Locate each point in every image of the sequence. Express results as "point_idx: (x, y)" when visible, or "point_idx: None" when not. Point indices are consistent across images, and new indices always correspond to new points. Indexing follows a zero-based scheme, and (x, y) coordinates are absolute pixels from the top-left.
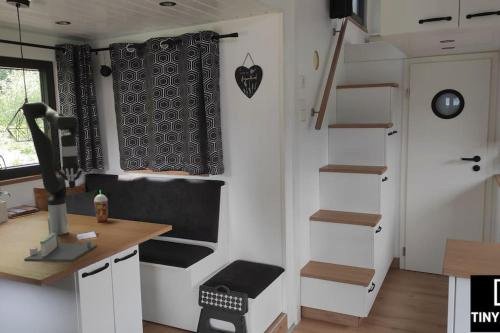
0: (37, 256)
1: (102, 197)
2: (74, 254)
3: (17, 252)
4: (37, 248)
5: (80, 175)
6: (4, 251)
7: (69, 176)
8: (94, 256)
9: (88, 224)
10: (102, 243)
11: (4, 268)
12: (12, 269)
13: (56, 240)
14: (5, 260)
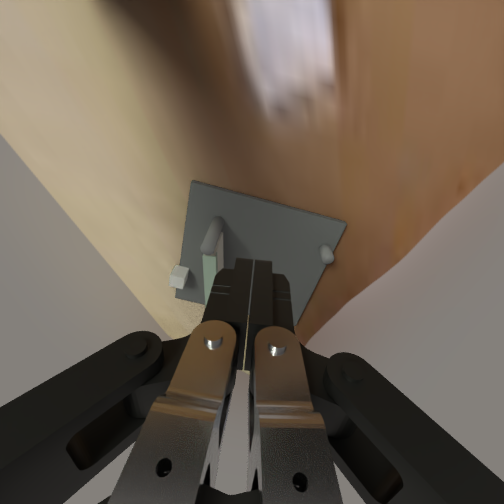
0: (200, 289)
1: None
2: (293, 296)
3: (111, 225)
4: (185, 276)
5: (448, 454)
6: (60, 205)
7: (216, 473)
8: (343, 302)
9: None
10: (362, 192)
11: (160, 325)
12: (181, 333)
13: (219, 242)
14: (125, 281)
